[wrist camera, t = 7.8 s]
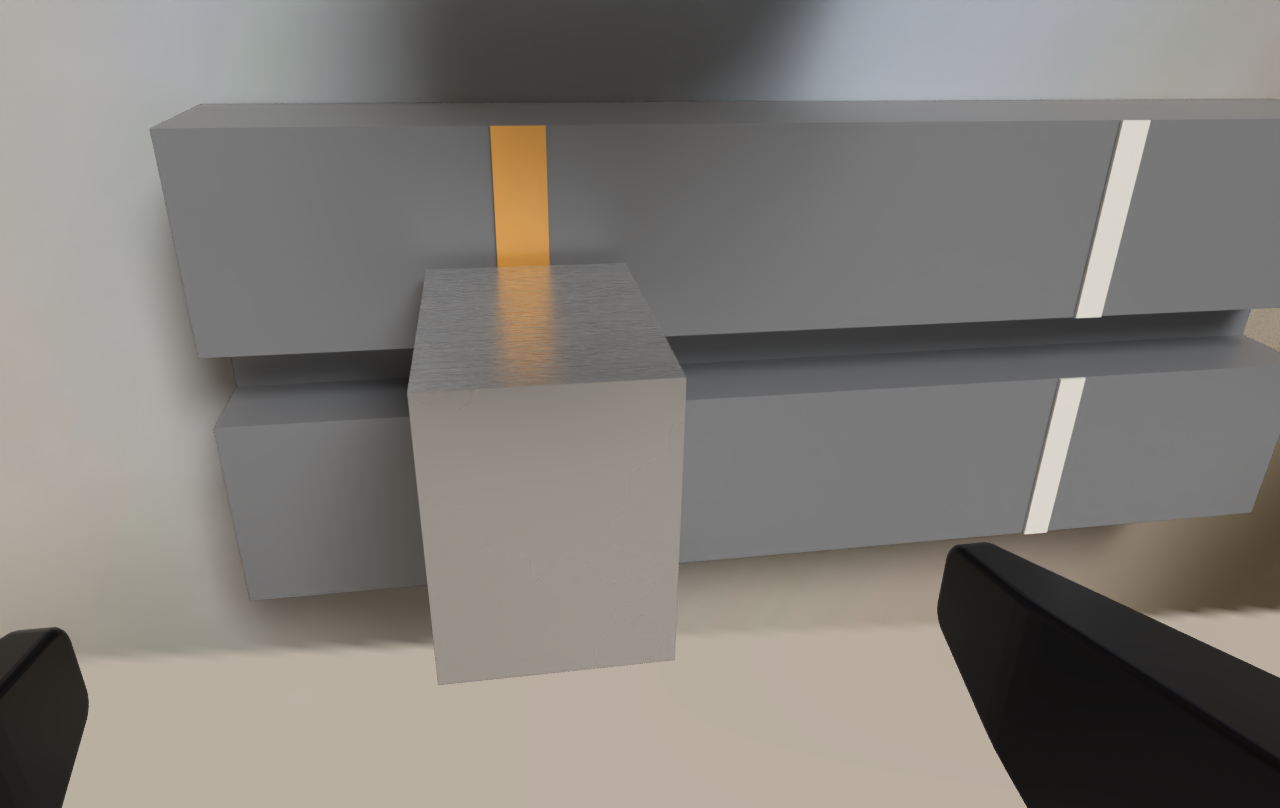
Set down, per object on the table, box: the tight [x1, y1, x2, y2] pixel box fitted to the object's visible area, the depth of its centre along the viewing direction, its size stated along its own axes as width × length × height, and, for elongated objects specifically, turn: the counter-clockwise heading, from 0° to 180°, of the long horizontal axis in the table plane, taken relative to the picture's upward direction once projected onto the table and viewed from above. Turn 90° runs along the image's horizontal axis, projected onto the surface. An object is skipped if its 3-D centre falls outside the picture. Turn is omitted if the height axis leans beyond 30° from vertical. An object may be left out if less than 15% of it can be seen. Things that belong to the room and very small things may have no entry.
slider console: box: [150, 99, 1280, 601], centre depth 17 cm, size 20×8×3 cm, turn 89°
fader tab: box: [407, 263, 687, 685], centre depth 13 cm, size 3×4×6 cm
